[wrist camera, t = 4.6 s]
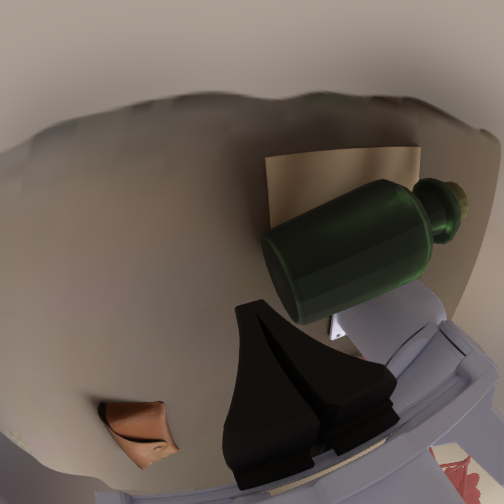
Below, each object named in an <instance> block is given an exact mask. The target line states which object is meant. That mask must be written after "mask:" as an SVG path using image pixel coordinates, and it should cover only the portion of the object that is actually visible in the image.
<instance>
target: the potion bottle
mask: <svg viewBox="0 0 504 504" xmlns="http://www.w3.org/2000/svg"><path fill="white" fill-rule="evenodd" d="M468 206H469V205H468V200H467V196H466V194H465V192H464V190H463V189H462V188H461V187H460V186H459V185H458V184H456V183H454V182H452V181H451V182H442V181H440V180H437V179H432V178H425V179H420V180H419V181H418V182H417V183H416V184H415V185H414V186H413V189H412V192H411V191H410V190H409V189H408V188H407V187H404V186H402V185H400V184H397V183H395V182H392V181H389V180H386V179H379V180H375V181H371V182H369V183H367V184H365V185H362V186H360V187H358V188H356V189H354V190H352V191H350V192H347V193H345V194H343V195H341V196H339V197H337V198H335V199H332V200H330V201H328V202H326V203H324V204H322V205H320V206H318V207H315V208H313V209H311V210H309V211H307V212H305V213H303V214H301V215H299V216H296V217H294V218H292V219H290V220H288V221H286V222H284V223H282V224H280V225H278V226H275V227H273V228H271V229H269V230H267V231H265V233H264V235H263V236H262V240H261V245H262V251H263V255H264V258H265V262H266V265H267V268H268V271H269V274H270V277H271V279H272V282H273V284H274V287H275V289H276V291H277V294H278V296H279V298H280V300H281V302H282V304H283V306H284V308H285V309H286V311H287V313H288V314H289V316H290V318H291V319H292V320H293V321H294V322H295V323H297V324H301V325H306V324H309V323H312V322H315V321H317V320H320V319H323V318H325V317H328V316H331V315H333V314H336V313H339V312H341V311H344V310H346V309H349V308H351V307H354V306H356V305H359V304H361V303H364V302H366V301H368V300H371V299H373V298H375V297H378V296H380V295H382V294H385V293H387V292H389V291H391V290H394V289H396V288H398V287H400V286H402V285H405V284H407V283H409V282H411V281H413V280H415V279H417V278H419V277H420V276H421V275H422V273H423V272H424V270H425V269H426V267H427V266H428V263H429V261H430V258H431V256H432V248H433V242H434V243H437V244H445V243H447V242H449V241H451V240H452V239H453V237H454V235H455V234H456V232H457V230H458V229H459V227H460V225H461V220H463V219H464V218H465V217H466V215H467V213H468Z"/></svg>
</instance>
